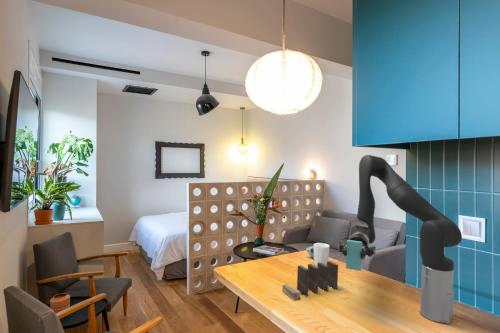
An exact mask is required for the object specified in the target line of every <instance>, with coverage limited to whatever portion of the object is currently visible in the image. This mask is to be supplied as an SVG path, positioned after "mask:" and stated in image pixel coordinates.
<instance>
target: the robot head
mask: <svg viewBox="0 0 500 333" xmlns="http://www.w3.org/2000/svg"><path fill="white" fill-rule="evenodd" d="M305 251H306V252H307V254H308V255H309V257H310V258H311V259H314V245H311V246H309V247H306V248H305Z"/></svg>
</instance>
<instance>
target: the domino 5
mask: <svg viewBox="0 0 500 333" xmlns="http://www.w3.org/2000/svg"><path fill="white" fill-rule="evenodd" d="M346 243H347V255H346V256H345V257H346V258H345V269H349V270H353V271H362V258H360V252H361V250H362V242H360V241H352V240H349V239H347V240H346Z"/></svg>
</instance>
